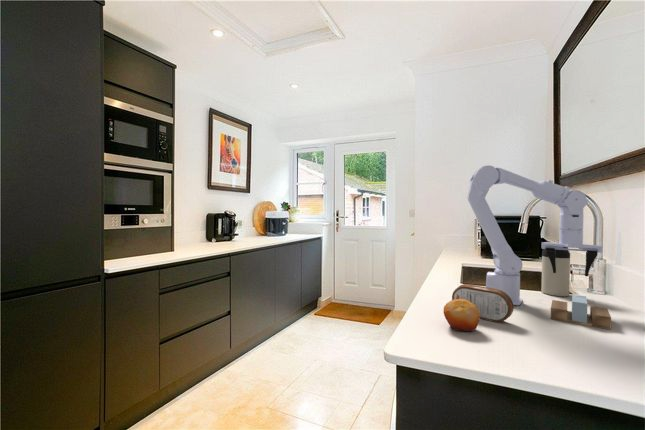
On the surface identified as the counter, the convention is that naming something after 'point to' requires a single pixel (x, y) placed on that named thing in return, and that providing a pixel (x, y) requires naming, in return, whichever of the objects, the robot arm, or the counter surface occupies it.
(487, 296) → the tin
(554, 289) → the travel mug
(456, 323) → the fruit
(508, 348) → the counter surface
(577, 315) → the pale blue tapered bar
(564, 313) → the slot block
